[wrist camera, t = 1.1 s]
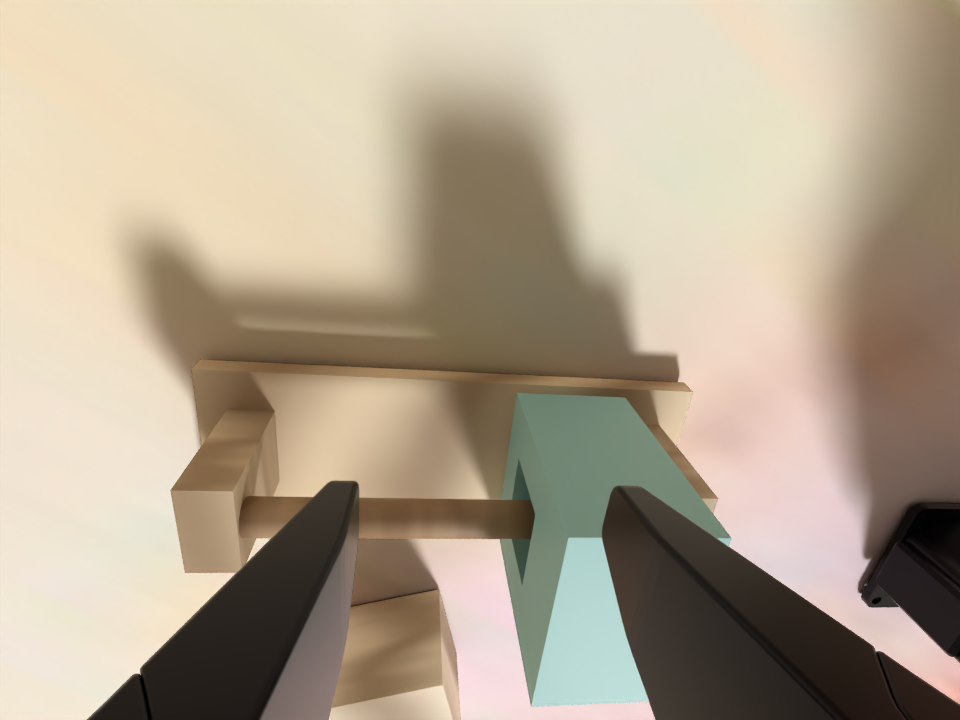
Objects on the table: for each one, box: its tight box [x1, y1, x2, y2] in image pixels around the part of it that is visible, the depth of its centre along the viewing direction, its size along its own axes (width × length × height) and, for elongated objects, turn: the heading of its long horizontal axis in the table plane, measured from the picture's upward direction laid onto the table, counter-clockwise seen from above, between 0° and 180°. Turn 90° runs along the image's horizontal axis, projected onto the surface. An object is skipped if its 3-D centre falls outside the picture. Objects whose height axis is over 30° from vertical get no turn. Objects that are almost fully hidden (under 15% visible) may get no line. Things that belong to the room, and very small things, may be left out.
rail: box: [171, 360, 718, 573], centre depth 18 cm, size 18×6×5 cm, turn 84°
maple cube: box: [330, 589, 461, 720], centre depth 22 cm, size 4×4×4 cm
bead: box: [500, 393, 731, 707], centre depth 16 cm, size 4×6×7 cm, turn 174°
